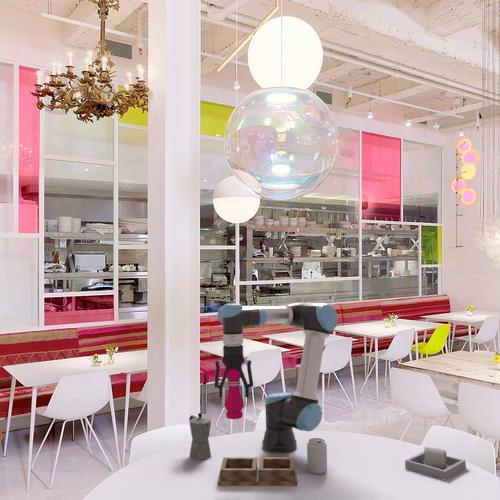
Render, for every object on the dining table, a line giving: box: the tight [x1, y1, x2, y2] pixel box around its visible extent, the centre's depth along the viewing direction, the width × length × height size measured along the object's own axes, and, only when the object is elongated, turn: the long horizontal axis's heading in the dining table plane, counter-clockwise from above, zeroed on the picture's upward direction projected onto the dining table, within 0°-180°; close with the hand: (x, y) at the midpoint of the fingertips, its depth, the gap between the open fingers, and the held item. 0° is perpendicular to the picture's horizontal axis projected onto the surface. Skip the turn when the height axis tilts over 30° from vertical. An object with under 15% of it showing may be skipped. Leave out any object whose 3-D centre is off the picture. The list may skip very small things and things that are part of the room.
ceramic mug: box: [423, 446, 447, 470], centre depth 206 cm, size 11×8×8 cm
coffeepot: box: [188, 412, 212, 461], centre depth 221 cm, size 15×9×18 cm, turn 35°
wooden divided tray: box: [217, 456, 299, 487], centre depth 196 cm, size 29×14×6 cm, turn 88°
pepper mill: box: [224, 369, 245, 420], centre depth 198 cm, size 7×7×20 cm
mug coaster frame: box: [404, 451, 467, 481], centre depth 204 cm, size 16×16×3 cm
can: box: [306, 437, 328, 475], centre depth 202 cm, size 8×8×12 cm
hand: (234, 405), depth 198 cm, fingers closed on pepper mill, 7 cm apart
